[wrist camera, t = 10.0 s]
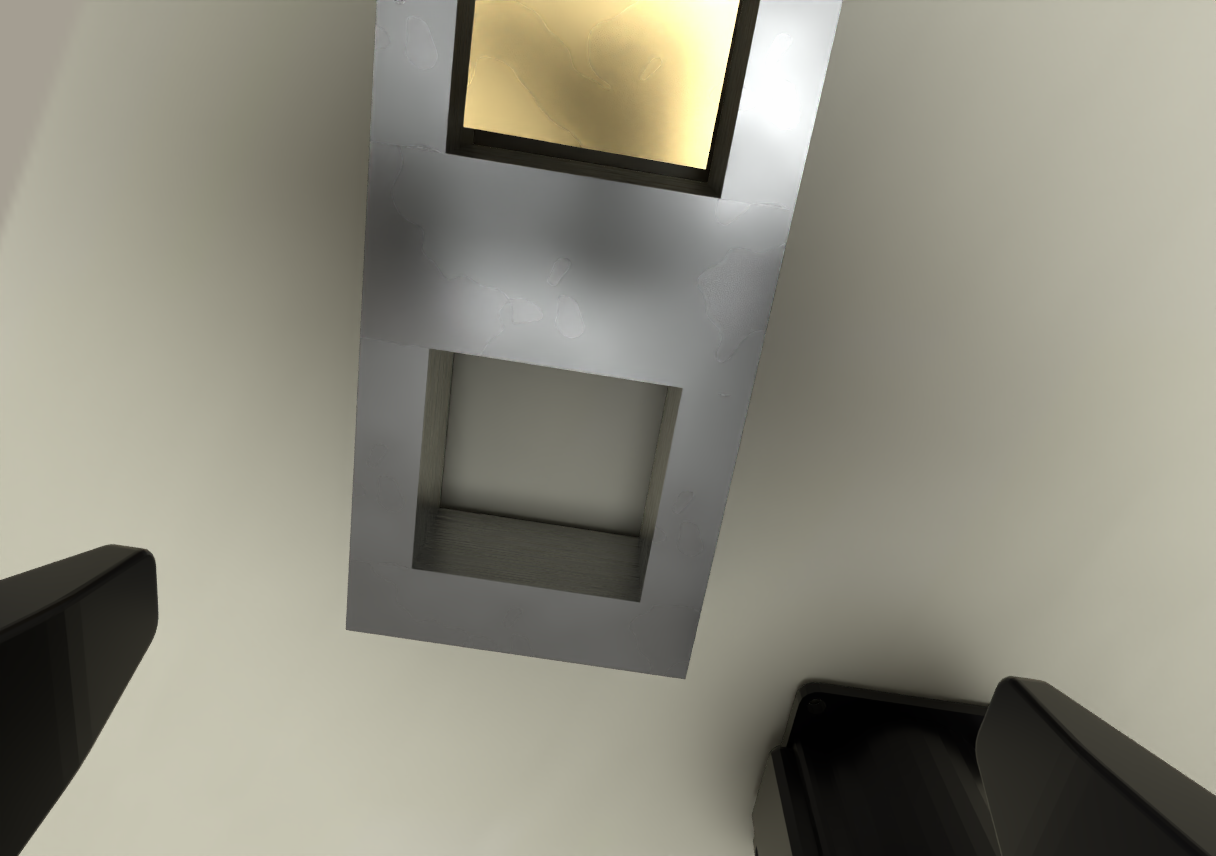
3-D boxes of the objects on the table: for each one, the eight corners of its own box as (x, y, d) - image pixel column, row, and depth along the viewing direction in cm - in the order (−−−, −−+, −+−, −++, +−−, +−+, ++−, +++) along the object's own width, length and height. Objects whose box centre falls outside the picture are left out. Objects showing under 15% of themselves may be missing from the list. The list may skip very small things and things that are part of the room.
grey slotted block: (853, -188, 16) (899, -246, 13) (678, 607, 23) (685, 679, 20) (435, -264, 16) (393, -338, 13) (381, 563, 23) (346, 629, 20)
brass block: (726, -58, 17) (761, -111, 12) (687, 149, 19) (705, 169, 14) (529, -94, 17) (491, -162, 12) (505, 116, 18) (463, 126, 14)
